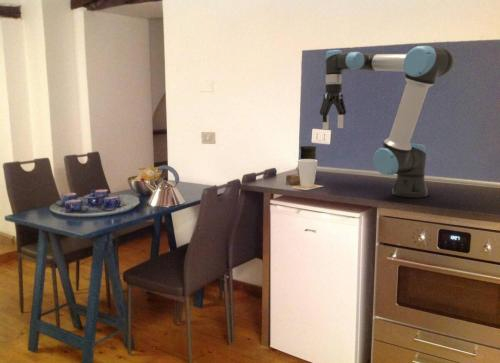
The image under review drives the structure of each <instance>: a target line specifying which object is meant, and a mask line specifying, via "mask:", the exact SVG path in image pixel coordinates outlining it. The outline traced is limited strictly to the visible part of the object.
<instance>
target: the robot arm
mask: <svg viewBox="0 0 500 363" xmlns="http://www.w3.org/2000/svg"><path fill="white" fill-rule="evenodd" d="M454 58H455V57H454V55H453V53H452V52H451V51H450V49H448V48H445V47H438V46H431V45H418V46H414V47H413V48H411V49H410V50H409V51H408V52H407V53H373V54H372V53H370V54H369V53H362V52H360V51H351V52H346V53H343V51H342V50H340V49H332V50H327V51H326V52H325V84H326V85H325V92H326V93H324V94H323V100H322V102H321V107H320V110H319V115H321V116H322V130H329V128H330V127H329V125H330V124H329V122H330V121H329V118H330V117H329V116H330V115H329V112H330V110H331V108H332V106H333V105H334V106H335V108H336V110H337V113H338V114H337V129H344V116H345V115H346V114H347V111H346V110H347V109H346V105H345V100H344V94H341V92H342V87H343V86H342V84H341V83H342V82H343V81H342V78H343V77H342V76H343V75H342V74H343V73H342V72H343V71H350V70H352V71H368V72H374V71H376V72H378V71H379V72H405V75H404V79H405V81H406V84H405V87H404V90H403V93H402V97H401V98H400V99H401V100H400V102H399V106H398V109H397V112H396V115H395V119H394V121H393V125H392V126H391V127H392V128H391V130H390V133H389V136H388V138H385V139H384V141H383V143H382V147H379V149H377V150H376V151H375V153H374V154H373V158H372V159H373V164H374V166H375V169H376V171H377V172H378V173H380V174H381V175H385V176H394V175H396V179H395V180H394V184H393V186H392V189H391V193H392V195H394V196H397V197H403V198H425V197H428V187H427V183H426V180H425V174H426V171H425V170H426V158H427V157H426V156H427V147H426V146H425V145H424V144H420V143H411V140H412V136H413V134H414V131H415V128H416V125H417V123H418V119H419V117H420V115H421V111H422V108H423V105H424V103H425V102H424V101H425V99H426V96H427V93H428V90H429V89H430V88H431V87H432V86H434V85H435V83H436V81H437V78H441V77H444V76H447V74H449V73H450V72H451V71H452V70H453V68H454V64H455V59H454Z"/></svg>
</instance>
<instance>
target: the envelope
mask: <svg viewBox="0 0 500 363" xmlns="http://www.w3.org/2000/svg"><path fill="white" fill-rule="evenodd" d="M321 187H324V185H319V184H314V187H312V188H303V187H301V184H300V185H294V186H290V188H291V189H292V188H293V189H298V190H303V191H304V190H305V191H309V190H312V189H317V188H321Z"/></svg>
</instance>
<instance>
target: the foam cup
mask: <svg viewBox="0 0 500 363" xmlns="http://www.w3.org/2000/svg"><path fill="white" fill-rule="evenodd" d="M318 162H319V160H317V159H316V160H314V159H301V158H300V159H298V160H297V165H298V173H299V175H300V185H301V187H303V188H312V187H314V185H315V182H316V181H315V175H316V176H317V174H316V173H317V167H318Z"/></svg>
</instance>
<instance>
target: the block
mask: <svg viewBox="0 0 500 363" xmlns="http://www.w3.org/2000/svg"><path fill="white" fill-rule="evenodd" d="M285 184H286V185H288V186H290V187H294V186H299V185H301V184H300V175H298V174H293V173H292V174H287V175H285Z"/></svg>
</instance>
